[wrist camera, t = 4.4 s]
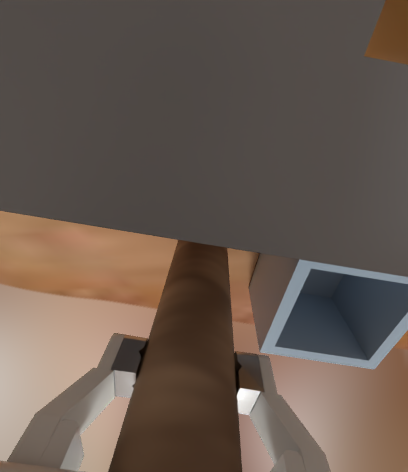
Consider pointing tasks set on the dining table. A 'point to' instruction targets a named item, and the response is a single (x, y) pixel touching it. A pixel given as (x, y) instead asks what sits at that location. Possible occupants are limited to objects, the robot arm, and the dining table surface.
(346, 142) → the box
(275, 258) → the cup
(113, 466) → the wooden dowel
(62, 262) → the dining table surface
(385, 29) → the button
